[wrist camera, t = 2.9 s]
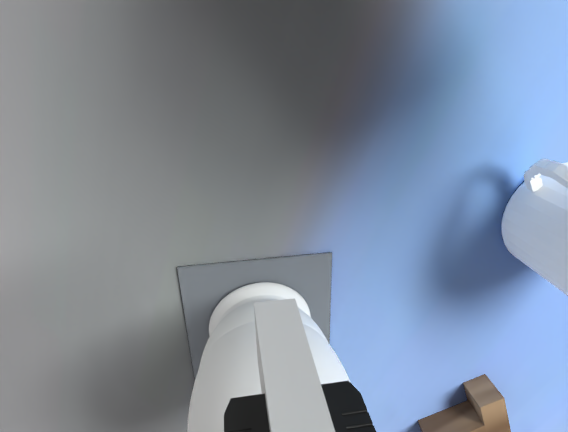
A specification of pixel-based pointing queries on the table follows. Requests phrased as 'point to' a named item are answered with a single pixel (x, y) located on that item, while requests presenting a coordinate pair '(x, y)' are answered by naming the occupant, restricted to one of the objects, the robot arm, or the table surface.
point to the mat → (232, 275)
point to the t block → (472, 411)
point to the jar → (246, 354)
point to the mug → (540, 222)
